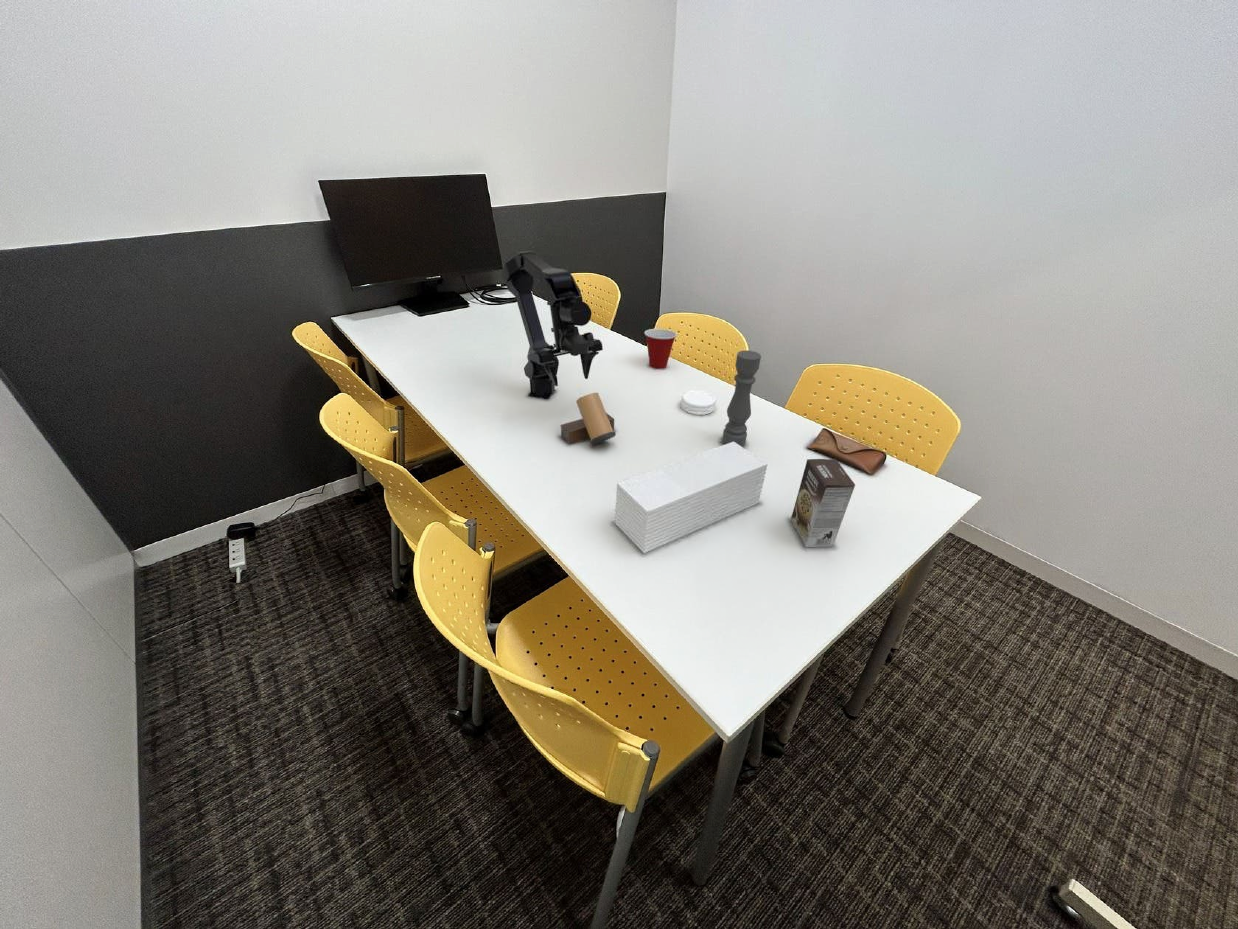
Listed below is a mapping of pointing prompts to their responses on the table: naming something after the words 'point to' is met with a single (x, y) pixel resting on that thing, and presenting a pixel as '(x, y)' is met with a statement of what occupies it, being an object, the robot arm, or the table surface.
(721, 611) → the table surface
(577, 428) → the walnut block
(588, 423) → the tan cylinder
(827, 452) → the sunglasses case
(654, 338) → the plastic cup
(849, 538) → the table surface
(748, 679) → the table surface
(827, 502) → the brown food box
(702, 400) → the coaster
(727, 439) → the candle holder
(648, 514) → the stack of papers
